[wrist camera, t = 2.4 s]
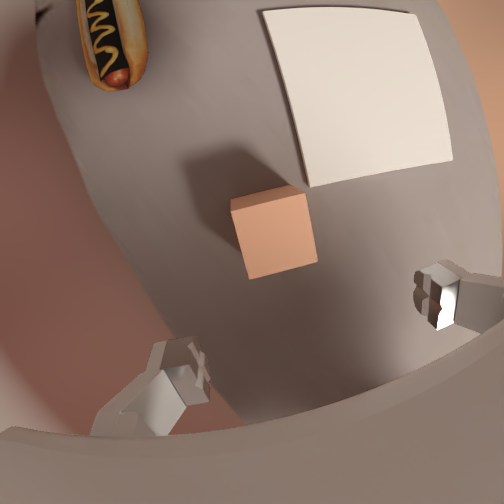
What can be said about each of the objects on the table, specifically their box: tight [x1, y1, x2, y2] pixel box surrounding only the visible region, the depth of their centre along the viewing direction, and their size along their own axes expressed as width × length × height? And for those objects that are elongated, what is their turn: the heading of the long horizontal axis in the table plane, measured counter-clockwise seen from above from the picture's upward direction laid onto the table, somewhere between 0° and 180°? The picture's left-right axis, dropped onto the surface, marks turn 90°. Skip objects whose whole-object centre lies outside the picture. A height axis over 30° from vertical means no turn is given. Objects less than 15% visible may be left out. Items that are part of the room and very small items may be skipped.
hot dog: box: [76, 0, 148, 92], centre depth 15 cm, size 5×13×5 cm, turn 17°
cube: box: [231, 185, 318, 280], centre depth 22 cm, size 5×5×5 cm
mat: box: [262, 7, 453, 187], centre depth 20 cm, size 16×16×1 cm
